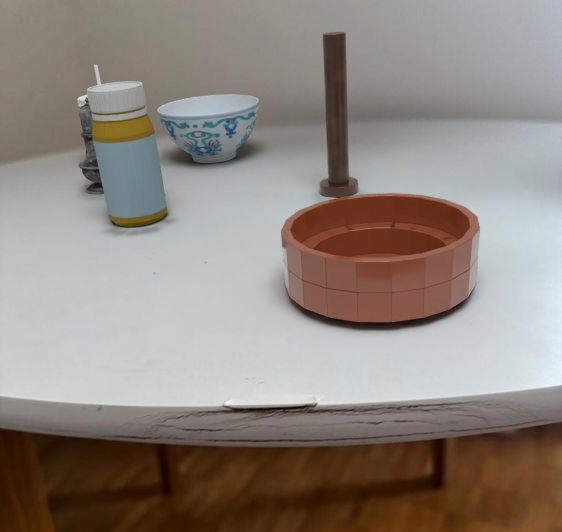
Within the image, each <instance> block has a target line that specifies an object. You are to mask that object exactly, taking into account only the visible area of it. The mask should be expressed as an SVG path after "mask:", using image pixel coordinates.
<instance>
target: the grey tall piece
mask: <svg viewBox="0 0 562 532" xmlns="http://www.w3.org/2000/svg"><path fill="white" fill-rule="evenodd" d="M85 101H86V104H84V105H83V106H82V107H79V109H78V116H79V120H80V125H81V130H82V132H81V133H80V137H81V138H82V139H83V142H84V146H85V147H84V148H85V159H84V160H83V161H80V162H79V163H78V168H79V169H81V172H82V174H83V176H84V177H85V179H86V180H88V181H89V182H92V183H91V184H89V185H88V187H86V189H85V191H86V193H88V194H90V195H91V194H92V195H104V190H103V186H102V181H101V176H100V172H99V167H98V162H97V157H96V153H95V148H94V143H93V137H92V129H93V118H92V111H91V109H90V105H89V100H88V98H87V97H86V98H85Z"/></svg>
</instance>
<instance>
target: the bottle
mask: <svg viewBox="0 0 562 532" xmlns="http://www.w3.org/2000/svg"><path fill="white" fill-rule="evenodd" d="M86 95H87V96H88V100H89V105H90V109H91V111H92V118H93V129H92V137H93V143H94V148H95V153H96V157H97V162H98V167H99V172H100V176H101V181H102V186H103V190H104V194H103V196H104V201H105V205H106V209H107V213H108V217H109V219H110V220H111V221H112V222H113V223H115V224H116V225H117V226H120V227H127V228H131V227H133V228H135V227H144V226H148V225H152V224H154V223H158V222H159V221H161V220H162V219H163V218H164V217H165V216H166V214H167V212H168V204H167V197H166V192H165V185H164V184H165V183H164V180H163V174H162V168H161V160H160V157H159V156H160V155H159V149H158V144H157V136H156V131H155V126H154V124H153V122H152V120H151V118H150V116H149V114H148V106H147V99H146V93H145V88H144V85H143V82H141V81H137V80H135V81H134V80H128V81H125V80H123V81H113V82H107V83H101V84H100V85H98V84H96V85H93V86H89V87H88V88H87V89H86Z"/></svg>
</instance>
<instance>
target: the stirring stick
mask: <svg viewBox="0 0 562 532" xmlns="http://www.w3.org/2000/svg"><path fill="white" fill-rule="evenodd" d="M322 52H323V53H322V54H323V55H322V56H323V78H324V80H323V81H324V103H325V104H324V106H325V130H326V155H327V156H326V157H327V158H326V159H327V178H324V179H322V180H321V181H319V193H320V195H321V196H324V197H328V198H339V197H345V196H354V195H356V194H357V193H358V192H359V180H358V179H357V178H355V177H352V176H350V159H349V158H350V157H349V113H348V72H347V71H348V69H347V66H348V65H347V33H346V32H345V31H330V32H324V33H322Z"/></svg>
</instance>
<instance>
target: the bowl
mask: <svg viewBox="0 0 562 532" xmlns="http://www.w3.org/2000/svg"><path fill="white" fill-rule="evenodd" d="M282 225H283V226H282V228H281V229H280V235H281V249H282V260H283V261H282V262H283V273H284V274H283V276H284V286H285V288H286V291H287V293H288V296H289V297H290V299H292V300H293V301H294V302H295V303H296V304H298V305H299V306H300V307H302V308H303V309H305V310H308V311H311V312H313V313H315V314H319V315H322V316H324V317H327V318H331V319H336V320H341V321H342V320H343V321H348V322H354V323H355V322H356V323H396V322H402V321H410V320H416V319H423V318H427V317H430V316H434V315H436V314H439V313H440V314H441V313H442V312H445V311H449V310H451V309H452V308H453V307H455V306H457V305H458V304H461V303H462V302H463V301H465V300H466V299H468V298H469V296H470V294H471V293H472V291H473V290H474V288H475V286H476V285H477V271H478V258H479V246H480V245H479V244H480V234H481V233H480V232H481V226H480V222H479V217H478V215H476V214H475V213H474V212H473V211H471V210H470V209H469V208H468V207H466V206H464V205H461V204H459V203H456V202H454V201H451V200H449V199H444V198H439V197H434V196H430V195H424V194H416V193H415V194H413V193H401V192H400V193H399V192H384V193H383V192H381V193H362V194H353V195H350V196H345V197H334V198H332V199H328V200H323V201H319V202H316V203H313V204H311V205H309V206H307V207H304V208H301V209H299V210H297V211H296V212H295V213H293V214H291V216H288V217H287V218H286V219H285V221H284V224H282Z"/></svg>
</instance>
